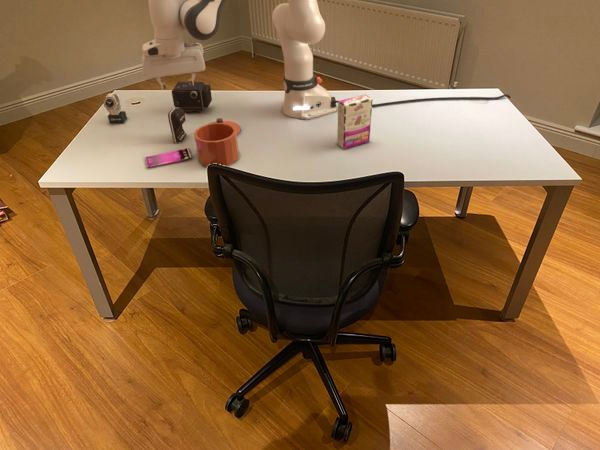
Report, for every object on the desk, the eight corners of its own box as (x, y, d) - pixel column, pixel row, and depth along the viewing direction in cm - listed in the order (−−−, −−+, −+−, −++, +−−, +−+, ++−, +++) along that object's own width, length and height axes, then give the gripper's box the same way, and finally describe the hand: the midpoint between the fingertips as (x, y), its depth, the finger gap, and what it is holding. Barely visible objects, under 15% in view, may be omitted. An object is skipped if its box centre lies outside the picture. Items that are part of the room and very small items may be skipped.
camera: (175, 118, 178) (211, 114, 176) (167, 91, 171) (204, 87, 169) (182, 107, 186) (216, 103, 184) (174, 81, 179) (209, 77, 177)
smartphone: (192, 159, 150) (192, 157, 149) (148, 168, 146) (147, 166, 145) (189, 149, 155) (188, 147, 155) (146, 158, 151) (145, 155, 151)
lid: (235, 120, 173) (233, 108, 170) (244, 136, 162) (243, 124, 159) (198, 127, 169) (196, 114, 166) (205, 144, 158) (203, 131, 155)
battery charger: (183, 144, 159) (177, 114, 152) (173, 143, 159) (166, 114, 152) (189, 134, 164) (184, 106, 157) (180, 134, 165) (174, 105, 157)
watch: (108, 125, 171) (99, 98, 164) (115, 116, 178) (107, 90, 171) (122, 125, 171) (114, 98, 164) (129, 116, 177) (121, 90, 170)
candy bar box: (361, 136, 161) (365, 93, 151) (369, 142, 158) (373, 98, 147) (335, 143, 157) (337, 100, 147) (343, 149, 154) (345, 105, 143)
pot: (233, 144, 158) (230, 120, 152) (243, 162, 148) (240, 137, 142) (195, 151, 154) (191, 127, 148) (203, 170, 145) (198, 145, 139)
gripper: (200, 38, 146) (206, 79, 155) (137, 45, 141) (146, 87, 149) (204, 44, 142) (209, 85, 151) (139, 51, 136) (148, 94, 145)
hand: (178, 86), depth 150 cm, fingers open, 8 cm apart
